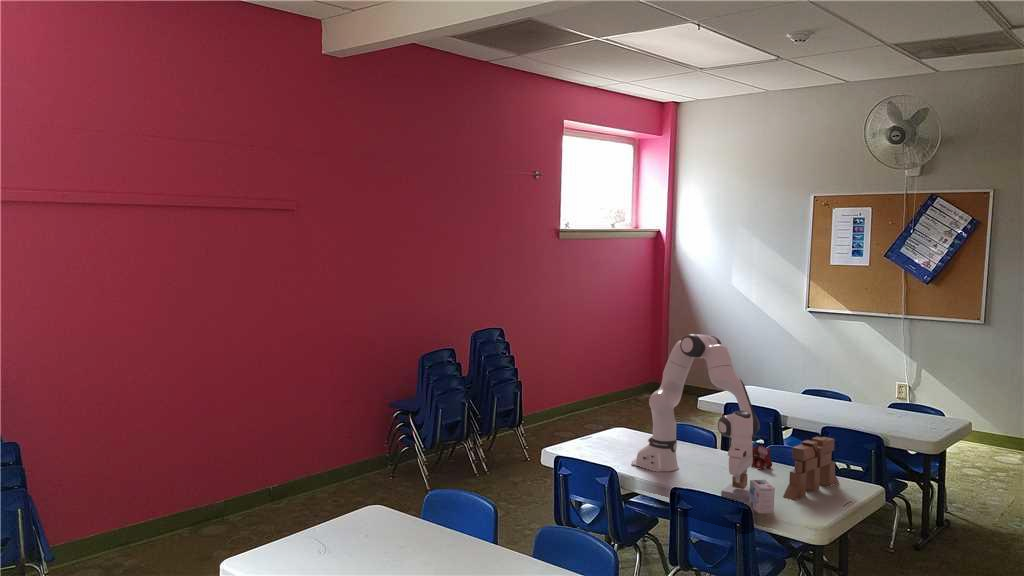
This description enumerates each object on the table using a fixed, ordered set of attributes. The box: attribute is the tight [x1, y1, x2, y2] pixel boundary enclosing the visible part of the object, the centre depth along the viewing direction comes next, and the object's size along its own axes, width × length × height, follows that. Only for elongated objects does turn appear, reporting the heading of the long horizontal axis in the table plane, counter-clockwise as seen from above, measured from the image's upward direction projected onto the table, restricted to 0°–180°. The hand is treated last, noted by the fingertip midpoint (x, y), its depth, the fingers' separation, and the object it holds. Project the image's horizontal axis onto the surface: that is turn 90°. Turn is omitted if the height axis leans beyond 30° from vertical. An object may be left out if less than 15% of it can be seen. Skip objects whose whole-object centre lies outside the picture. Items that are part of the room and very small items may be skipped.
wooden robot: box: [782, 436, 840, 501], centre depth 350 cm, size 40×9×23 cm, turn 132°
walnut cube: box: [731, 473, 748, 489], centre depth 341 cm, size 5×5×5 cm
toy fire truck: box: [751, 444, 773, 470], centre depth 385 cm, size 7×12×10 cm, turn 22°
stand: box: [720, 483, 750, 503], centre depth 341 cm, size 12×12×2 cm
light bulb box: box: [748, 479, 776, 514], centre depth 324 cm, size 11×7×11 cm, turn 5°
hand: (740, 480), depth 341 cm, fingers closed on walnut cube, 5 cm apart
